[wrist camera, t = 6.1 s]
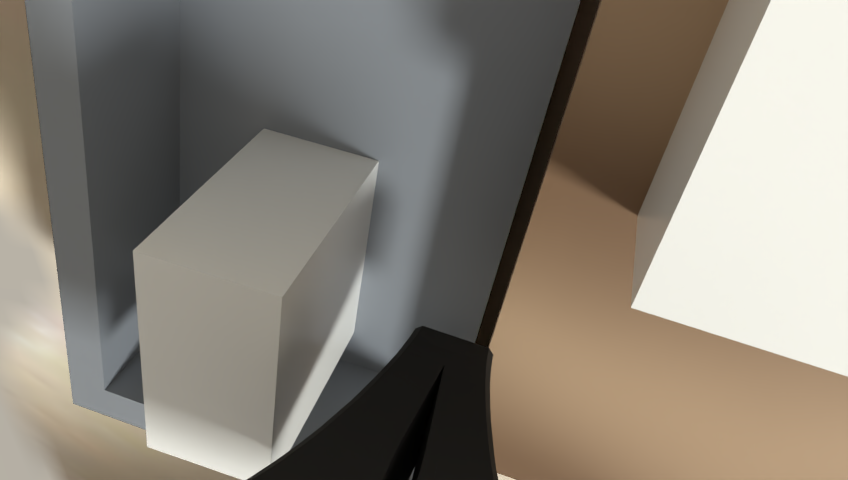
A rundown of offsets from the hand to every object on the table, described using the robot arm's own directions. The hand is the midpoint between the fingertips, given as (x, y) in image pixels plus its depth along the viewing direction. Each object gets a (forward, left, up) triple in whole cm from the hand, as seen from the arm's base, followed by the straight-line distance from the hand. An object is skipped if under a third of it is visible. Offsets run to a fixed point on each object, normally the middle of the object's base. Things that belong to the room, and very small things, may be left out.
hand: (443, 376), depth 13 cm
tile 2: (0, +2, 0) cm, 2 cm away
